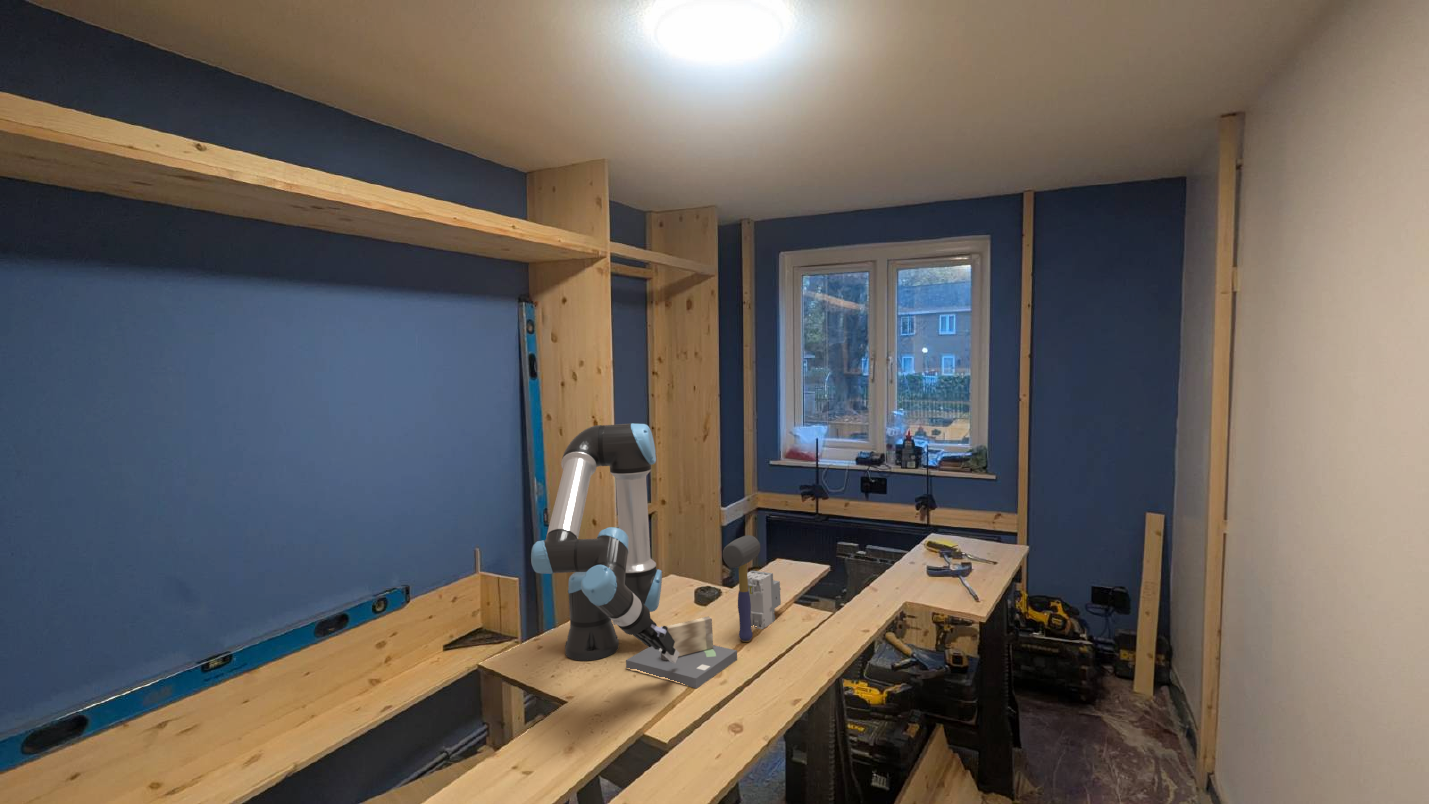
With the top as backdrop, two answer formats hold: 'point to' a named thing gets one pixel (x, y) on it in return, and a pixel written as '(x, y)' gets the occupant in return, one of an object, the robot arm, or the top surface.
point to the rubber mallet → (742, 578)
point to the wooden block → (691, 636)
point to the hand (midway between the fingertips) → (675, 657)
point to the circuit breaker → (763, 598)
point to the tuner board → (684, 664)
